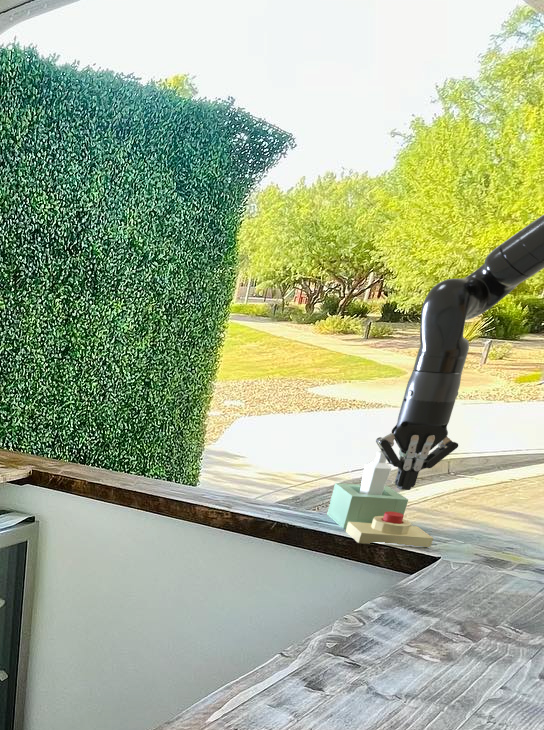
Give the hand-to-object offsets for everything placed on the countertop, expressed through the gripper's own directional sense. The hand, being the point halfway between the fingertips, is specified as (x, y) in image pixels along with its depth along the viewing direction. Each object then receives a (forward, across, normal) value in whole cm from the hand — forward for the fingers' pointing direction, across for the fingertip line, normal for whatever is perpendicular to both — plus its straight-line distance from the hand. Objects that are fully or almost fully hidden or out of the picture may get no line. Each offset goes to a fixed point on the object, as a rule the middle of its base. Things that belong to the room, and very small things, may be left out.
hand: (403, 488), depth 145 cm
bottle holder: (+10, +1, -10) cm, 14 cm away
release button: (+7, 0, 0) cm, 7 cm away
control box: (+10, 0, 0) cm, 10 cm away
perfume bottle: (+10, +1, -10) cm, 14 cm away
